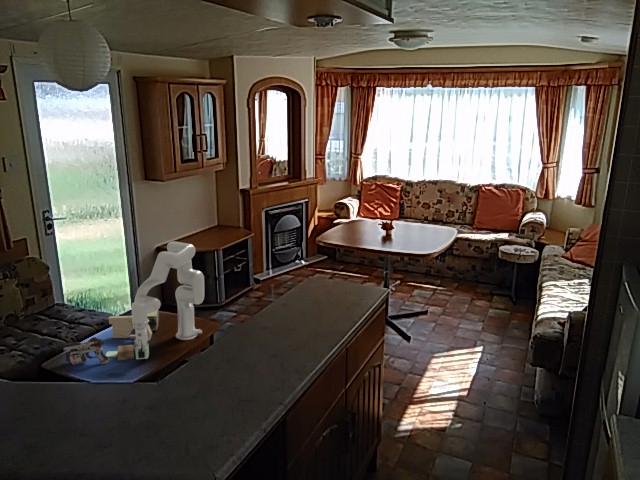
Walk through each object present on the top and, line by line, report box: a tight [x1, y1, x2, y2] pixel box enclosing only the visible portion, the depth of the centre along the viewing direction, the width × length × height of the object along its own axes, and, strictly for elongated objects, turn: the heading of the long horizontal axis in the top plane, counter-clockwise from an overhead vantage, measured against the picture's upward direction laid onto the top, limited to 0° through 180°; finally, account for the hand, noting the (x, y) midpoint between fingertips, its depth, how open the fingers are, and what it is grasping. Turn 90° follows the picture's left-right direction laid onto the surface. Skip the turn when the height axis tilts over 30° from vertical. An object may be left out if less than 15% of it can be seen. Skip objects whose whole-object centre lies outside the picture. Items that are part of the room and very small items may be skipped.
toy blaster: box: [62, 336, 110, 365], centre depth 277 cm, size 4×21×15 cm, turn 95°
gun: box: [108, 315, 153, 342], centre depth 309 cm, size 24×3×15 cm, turn 84°
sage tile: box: [104, 350, 118, 358], centre depth 289 cm, size 6×6×1 cm
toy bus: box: [147, 308, 160, 331], centre depth 330 cm, size 10×23×10 cm, turn 14°
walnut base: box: [117, 344, 135, 361], centre depth 288 cm, size 8×8×5 cm
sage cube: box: [134, 342, 150, 360], centre depth 283 cm, size 6×6×6 cm
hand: (142, 354), depth 283 cm, fingers closed on sage cube, 6 cm apart
